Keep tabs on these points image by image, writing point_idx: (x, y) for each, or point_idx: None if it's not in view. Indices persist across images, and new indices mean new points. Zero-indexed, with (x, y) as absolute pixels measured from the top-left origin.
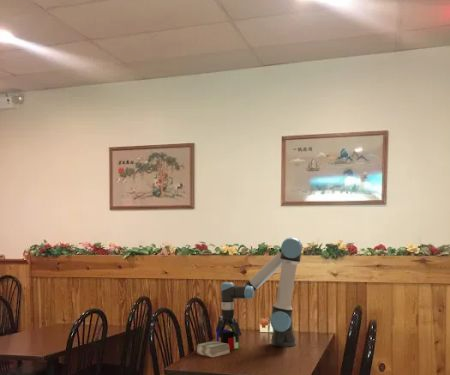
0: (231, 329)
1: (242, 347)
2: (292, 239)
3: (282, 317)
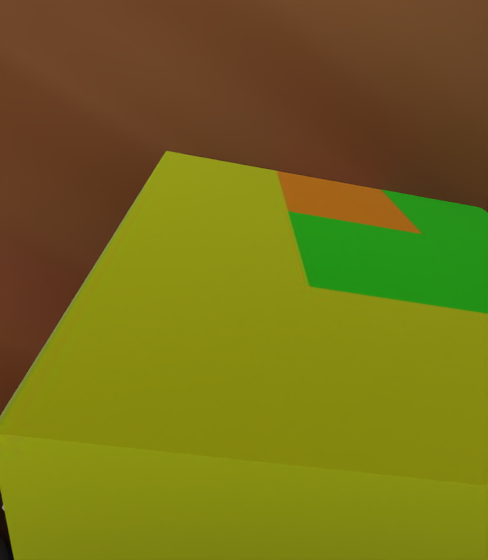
0: (260, 547)
1: (452, 76)
2: None
3: None
